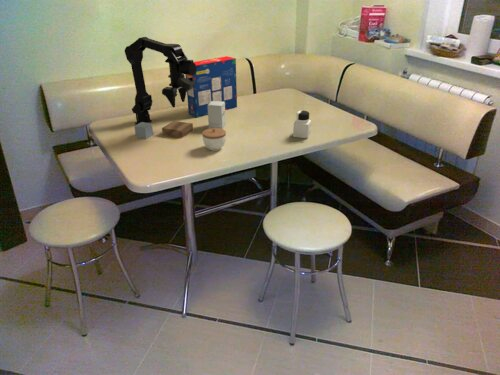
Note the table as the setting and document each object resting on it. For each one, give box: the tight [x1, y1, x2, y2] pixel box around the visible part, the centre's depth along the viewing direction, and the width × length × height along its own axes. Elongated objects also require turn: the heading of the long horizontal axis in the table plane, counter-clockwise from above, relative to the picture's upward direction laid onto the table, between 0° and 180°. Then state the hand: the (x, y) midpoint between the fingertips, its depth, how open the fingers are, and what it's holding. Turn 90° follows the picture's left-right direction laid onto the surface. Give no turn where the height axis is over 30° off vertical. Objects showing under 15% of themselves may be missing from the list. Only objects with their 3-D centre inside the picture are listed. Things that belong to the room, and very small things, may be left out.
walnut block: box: [161, 120, 194, 139], centre depth 206 cm, size 11×11×4 cm
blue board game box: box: [184, 55, 238, 119], centre depth 229 cm, size 28×8×28 cm, turn 129°
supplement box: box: [207, 101, 226, 130], centre depth 210 cm, size 7×7×13 cm
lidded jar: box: [201, 128, 227, 152], centre depth 187 cm, size 11×11×9 cm
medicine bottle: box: [292, 110, 312, 139], centre depth 198 cm, size 7×7×12 cm
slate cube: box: [134, 122, 154, 140], centre depth 202 cm, size 6×6×6 cm
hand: (178, 104), depth 203 cm, fingers open, 9 cm apart
